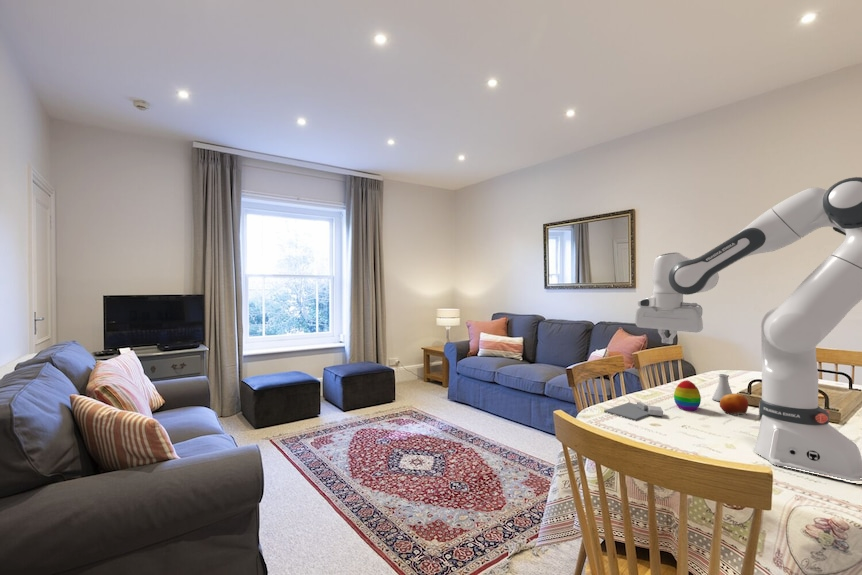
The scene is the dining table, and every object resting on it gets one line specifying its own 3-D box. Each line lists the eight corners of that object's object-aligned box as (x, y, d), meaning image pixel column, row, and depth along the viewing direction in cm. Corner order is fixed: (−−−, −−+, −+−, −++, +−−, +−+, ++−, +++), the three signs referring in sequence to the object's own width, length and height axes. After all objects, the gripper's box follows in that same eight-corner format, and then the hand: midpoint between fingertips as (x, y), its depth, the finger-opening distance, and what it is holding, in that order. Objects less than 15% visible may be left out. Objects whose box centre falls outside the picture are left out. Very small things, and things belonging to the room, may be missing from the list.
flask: (707, 399, 159) (708, 373, 158) (719, 397, 162) (719, 372, 162) (728, 404, 152) (728, 377, 152) (739, 402, 155) (739, 375, 155)
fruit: (742, 415, 135) (730, 391, 139) (722, 421, 142) (711, 398, 146) (760, 413, 138) (748, 389, 141) (740, 418, 144) (729, 396, 148)
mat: (659, 411, 144) (659, 409, 144) (635, 420, 135) (635, 418, 135) (628, 404, 153) (628, 402, 153) (604, 412, 144) (604, 410, 144)
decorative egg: (701, 413, 142) (701, 384, 142) (673, 409, 147) (673, 381, 147) (700, 407, 149) (700, 379, 149) (674, 403, 154) (674, 377, 153)
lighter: (663, 416, 138) (658, 408, 146) (663, 411, 138) (658, 403, 146) (639, 413, 141) (636, 405, 148) (639, 408, 141) (636, 401, 148)
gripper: (706, 302, 130) (706, 346, 130) (642, 300, 147) (642, 339, 147) (697, 303, 126) (697, 348, 127) (632, 301, 143) (632, 340, 143)
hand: (667, 343), depth 137 cm, fingers closed
